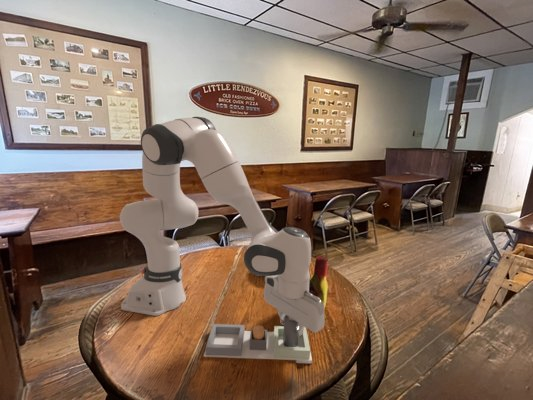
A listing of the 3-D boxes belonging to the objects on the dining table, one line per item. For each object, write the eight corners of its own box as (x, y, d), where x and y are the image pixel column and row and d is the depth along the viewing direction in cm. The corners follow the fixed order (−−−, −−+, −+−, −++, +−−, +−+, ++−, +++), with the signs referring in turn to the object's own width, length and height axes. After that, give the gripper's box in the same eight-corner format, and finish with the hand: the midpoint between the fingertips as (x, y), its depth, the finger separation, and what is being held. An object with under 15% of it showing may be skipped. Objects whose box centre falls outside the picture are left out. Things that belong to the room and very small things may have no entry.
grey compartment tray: (203, 359, 74) (202, 347, 73) (212, 332, 85) (211, 321, 84) (311, 363, 74) (312, 351, 73) (306, 335, 84) (307, 324, 84)
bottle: (329, 315, 94) (333, 263, 90) (310, 315, 95) (314, 262, 91) (323, 297, 106) (326, 249, 102) (306, 296, 106) (309, 249, 102)
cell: (286, 349, 76) (287, 322, 74) (280, 339, 80) (281, 313, 78) (300, 346, 77) (302, 320, 76) (294, 336, 81) (295, 310, 80)
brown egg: (252, 343, 77) (252, 332, 76) (253, 335, 80) (253, 325, 80) (263, 343, 77) (264, 332, 76) (264, 336, 80) (264, 325, 80)
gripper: (331, 296, 70) (327, 342, 72) (275, 268, 84) (274, 308, 87) (316, 305, 65) (313, 354, 68) (260, 275, 80) (260, 316, 83)
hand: (291, 328), depth 78 cm, fingers open, 5 cm apart
